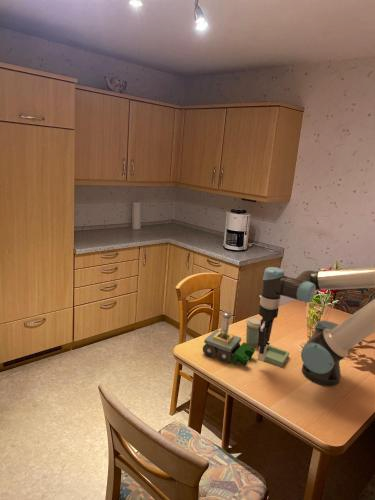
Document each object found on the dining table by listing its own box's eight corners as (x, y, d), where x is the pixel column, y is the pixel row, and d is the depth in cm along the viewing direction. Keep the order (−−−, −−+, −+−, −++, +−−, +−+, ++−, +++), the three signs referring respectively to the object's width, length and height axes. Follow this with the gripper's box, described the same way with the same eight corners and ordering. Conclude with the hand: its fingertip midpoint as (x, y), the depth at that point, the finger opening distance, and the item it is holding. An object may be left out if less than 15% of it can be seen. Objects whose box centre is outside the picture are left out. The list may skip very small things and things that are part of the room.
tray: (288, 357, 165) (289, 352, 165) (282, 367, 157) (283, 362, 156) (265, 349, 170) (266, 344, 169) (258, 359, 161) (259, 354, 161)
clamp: (240, 375, 156) (245, 364, 150) (228, 367, 158) (232, 355, 152) (253, 355, 164) (258, 343, 157) (242, 348, 166) (246, 336, 160)
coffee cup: (253, 350, 168) (257, 326, 165) (239, 342, 174) (243, 318, 171) (265, 345, 174) (269, 322, 170) (251, 337, 180) (254, 314, 176)
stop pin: (229, 338, 161) (233, 313, 158) (225, 342, 157) (229, 316, 154) (220, 335, 163) (224, 310, 160) (216, 339, 159) (220, 313, 156)
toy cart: (239, 353, 164) (242, 335, 162) (229, 365, 154) (232, 347, 152) (213, 343, 170) (215, 326, 168) (201, 354, 160) (203, 336, 158)
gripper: (265, 298, 154) (257, 349, 160) (254, 308, 143) (247, 363, 149) (282, 303, 151) (274, 355, 157) (273, 314, 140) (265, 369, 146)
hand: (261, 359), depth 153 cm, fingers closed
